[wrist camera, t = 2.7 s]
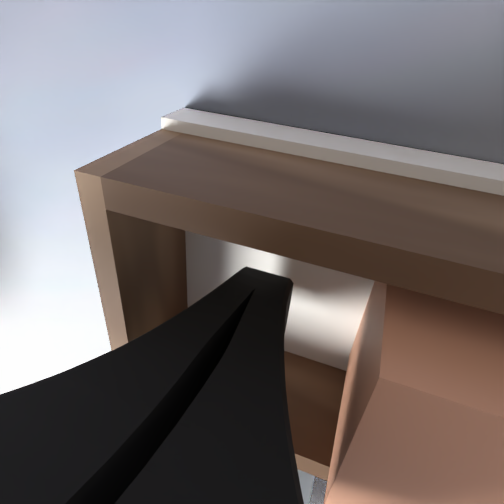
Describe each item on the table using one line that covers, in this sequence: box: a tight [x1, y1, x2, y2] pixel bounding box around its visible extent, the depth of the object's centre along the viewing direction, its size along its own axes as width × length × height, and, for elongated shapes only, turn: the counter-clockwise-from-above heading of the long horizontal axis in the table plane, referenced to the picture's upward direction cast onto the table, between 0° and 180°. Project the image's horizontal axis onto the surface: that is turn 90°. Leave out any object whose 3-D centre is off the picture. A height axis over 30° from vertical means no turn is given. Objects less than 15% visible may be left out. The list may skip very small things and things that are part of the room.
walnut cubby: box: [74, 129, 504, 481], centre depth 9 cm, size 7×11×3 cm
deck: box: [161, 108, 504, 371], centre depth 12 cm, size 14×20×1 cm
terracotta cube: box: [324, 281, 504, 504], centre depth 8 cm, size 4×4×4 cm
